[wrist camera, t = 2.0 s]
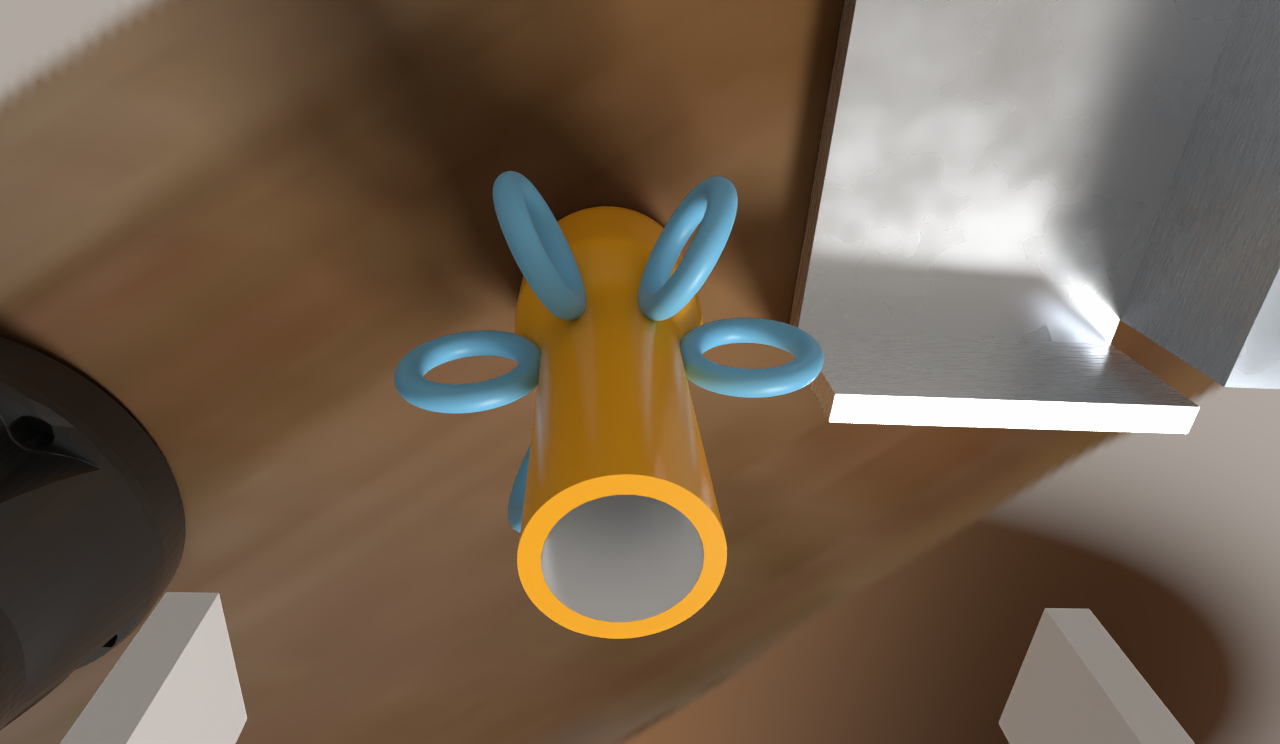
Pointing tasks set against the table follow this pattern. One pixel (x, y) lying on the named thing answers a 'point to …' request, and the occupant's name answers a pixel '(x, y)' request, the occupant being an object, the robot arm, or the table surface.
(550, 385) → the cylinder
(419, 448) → the table surface
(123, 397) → the table surface
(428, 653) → the table surface
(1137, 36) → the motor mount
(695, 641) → the table surface
